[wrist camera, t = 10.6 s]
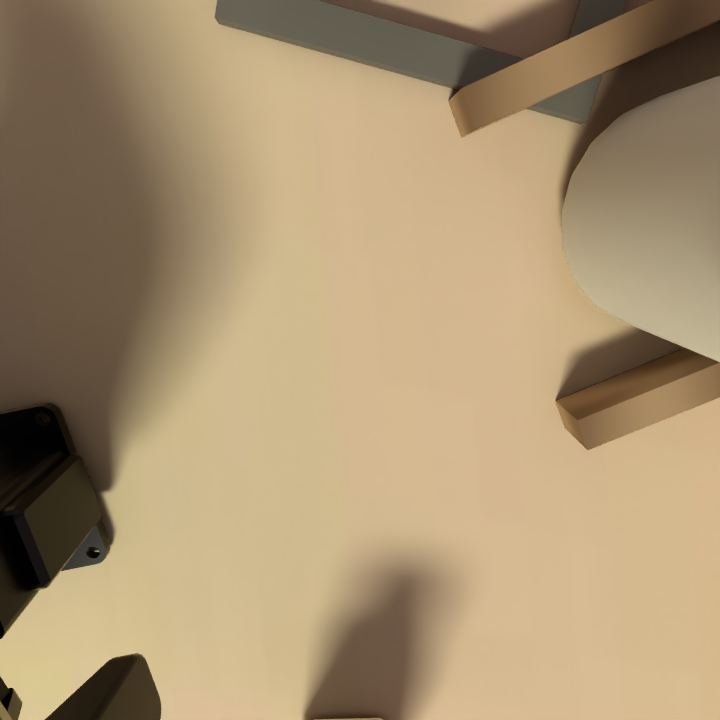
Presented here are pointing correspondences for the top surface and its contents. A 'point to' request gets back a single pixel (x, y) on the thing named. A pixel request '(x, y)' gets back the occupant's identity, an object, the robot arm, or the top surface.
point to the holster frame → (407, 44)
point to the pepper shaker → (353, 719)
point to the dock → (547, 78)
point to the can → (653, 218)
